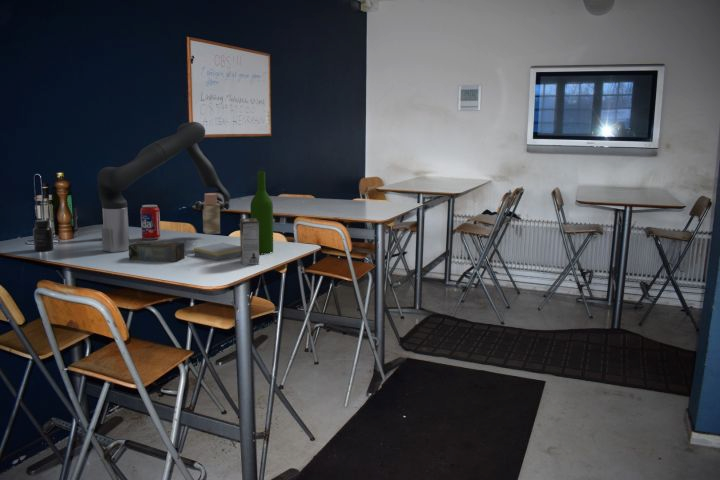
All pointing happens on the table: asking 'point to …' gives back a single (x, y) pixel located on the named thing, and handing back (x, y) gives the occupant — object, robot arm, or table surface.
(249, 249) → the coffee box
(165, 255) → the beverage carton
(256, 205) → the wine bottle
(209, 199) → the cube
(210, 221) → the wooden block
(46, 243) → the supplement bottle
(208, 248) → the dock
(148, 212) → the soda can
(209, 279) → the table surface
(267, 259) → the table surface
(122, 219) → the robot arm
